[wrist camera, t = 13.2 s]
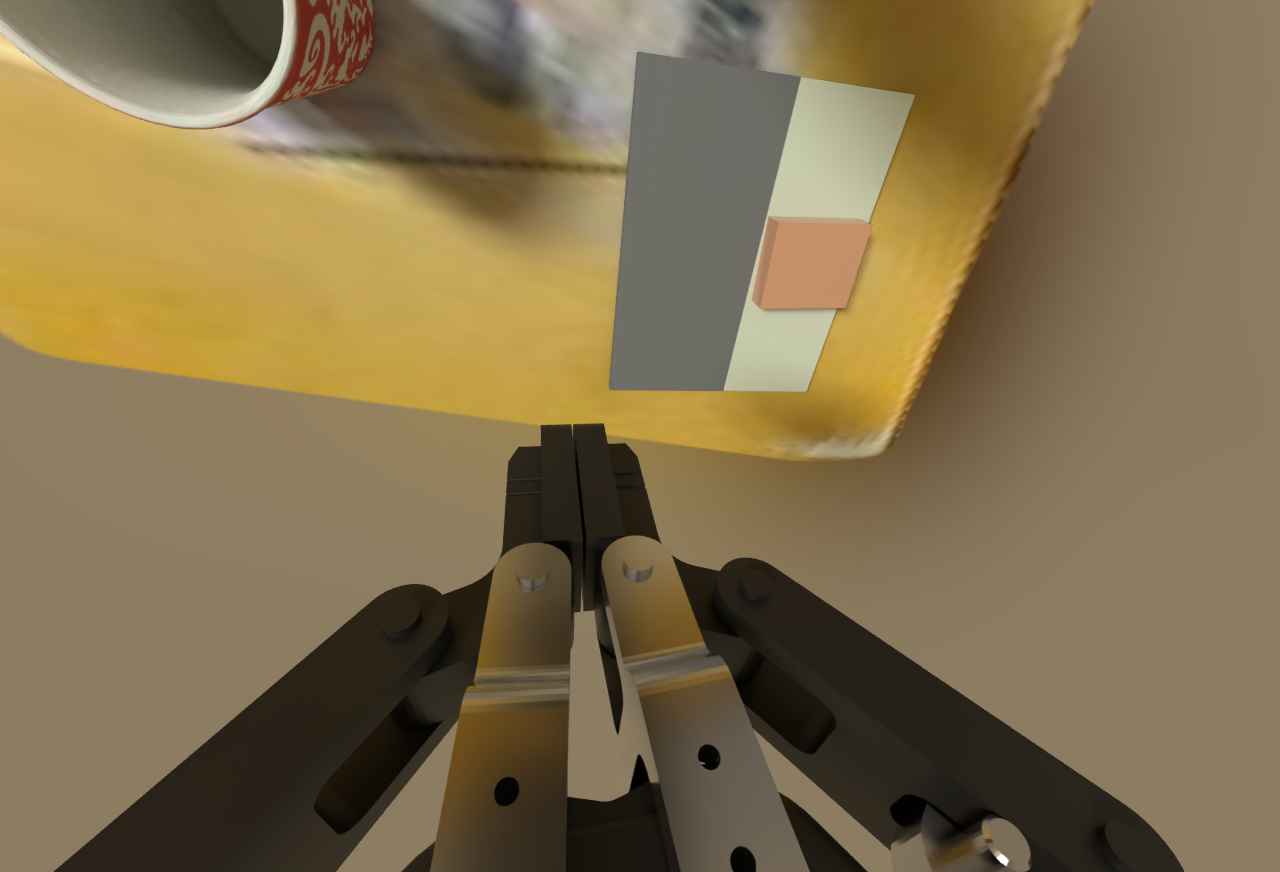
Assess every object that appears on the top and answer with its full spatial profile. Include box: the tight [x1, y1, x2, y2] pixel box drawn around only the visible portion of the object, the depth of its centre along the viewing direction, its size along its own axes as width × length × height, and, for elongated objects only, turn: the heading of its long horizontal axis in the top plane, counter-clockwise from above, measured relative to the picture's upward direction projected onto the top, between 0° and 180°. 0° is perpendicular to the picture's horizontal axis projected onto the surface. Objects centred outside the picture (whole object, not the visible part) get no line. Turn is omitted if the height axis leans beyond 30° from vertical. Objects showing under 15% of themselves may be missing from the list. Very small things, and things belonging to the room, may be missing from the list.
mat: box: [609, 52, 915, 392], centre depth 35 cm, size 22×18×1 cm
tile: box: [752, 216, 873, 309], centre depth 35 cm, size 6×2×7 cm
